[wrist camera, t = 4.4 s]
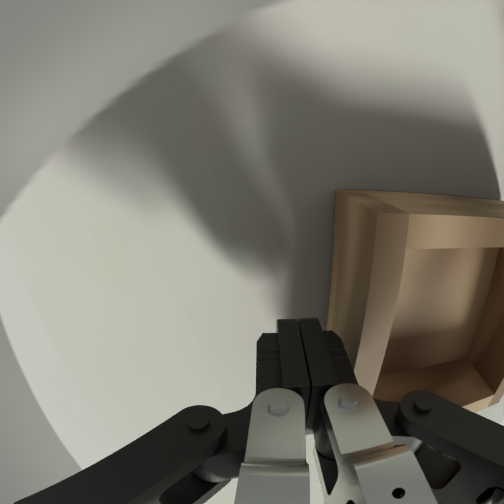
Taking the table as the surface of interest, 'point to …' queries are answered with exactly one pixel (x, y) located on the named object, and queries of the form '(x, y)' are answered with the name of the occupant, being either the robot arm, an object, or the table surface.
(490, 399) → the socket block
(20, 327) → the table surface
